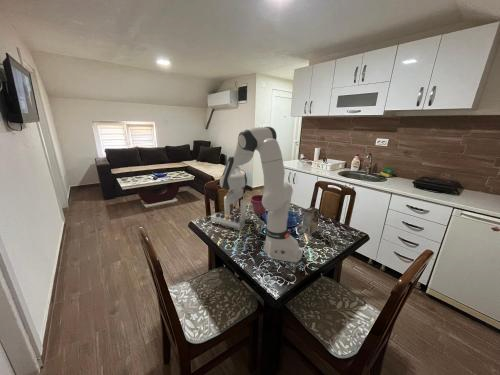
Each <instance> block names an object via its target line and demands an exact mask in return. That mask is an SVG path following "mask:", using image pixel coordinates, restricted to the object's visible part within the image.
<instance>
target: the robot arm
mask: <svg viewBox="0 0 500 375" xmlns="http://www.w3.org/2000/svg"><path fill="white" fill-rule="evenodd" d="M277 138H278V137H277V132H276V130H275V129H274V128H273V127H271V126H264V127H262V126H259V127H252V128H249V129H245V130H241V131H240V132H239V134H238V136H237V142H236V147H235V150H234V152H233V153H232V155H230V156H229V157H228V158H227V162H226V164H225V166H224V169H223V172H222V175H221V176H220V179H219V186H220V188H221V189H222V190H224V191H228V192H227V193H226V195H225V196H226V204H228V205H230V206H231V205H232V207H234V208H235V207H236V206H238V200H240V199H242V198H243V196H244V188H245V187H246V186H247V183H248V177H247V175H246V174H244V173H242V172H241V167H240V166H242V165H245V164H247V163H249V162H251V161H252V159H253V158H254V155H255V154H254V153H255V151H257V152H258V154H259V156H260V157H259V158H260V162H261V168H262V173H263V194H262V195H263V198H262V204H263V206H264V208H265V209H266V210H267V211H268V212H267V215H266V228H265V241H264V244H263V248H262V249H263V252H264V253H265V254H266V255H267V257H268V259H270V260H271V259H272V260H277V261H283V262H289V263H290V262H291V263H298V262H299V261H300V260H301V259H302V257H303V252H304V251H303V248H302V247H301V246H300V244H299V241H298V240H297V239H296V238H294V237H293V235H291V229H288V227H287V226H288V217H289V211H290V206H291V201H292V196H293V193H294V189H293V187H292V185H291V184H290V183H288V182H285V174H286V171H285V165H284V159H283V154H282V151H281V148H280V145H279V142H278V140H277Z"/></svg>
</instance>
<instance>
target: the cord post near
mask: <svg viewBox="0 0 500 375" xmlns="http://www.w3.org/2000/svg"><path fill="white" fill-rule="evenodd" d="M239 200H240V202H239V203H240V204H239V205H240V218H241V219H245V220H246V221H247V200H246V199H245V198H240V199H239Z"/></svg>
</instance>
